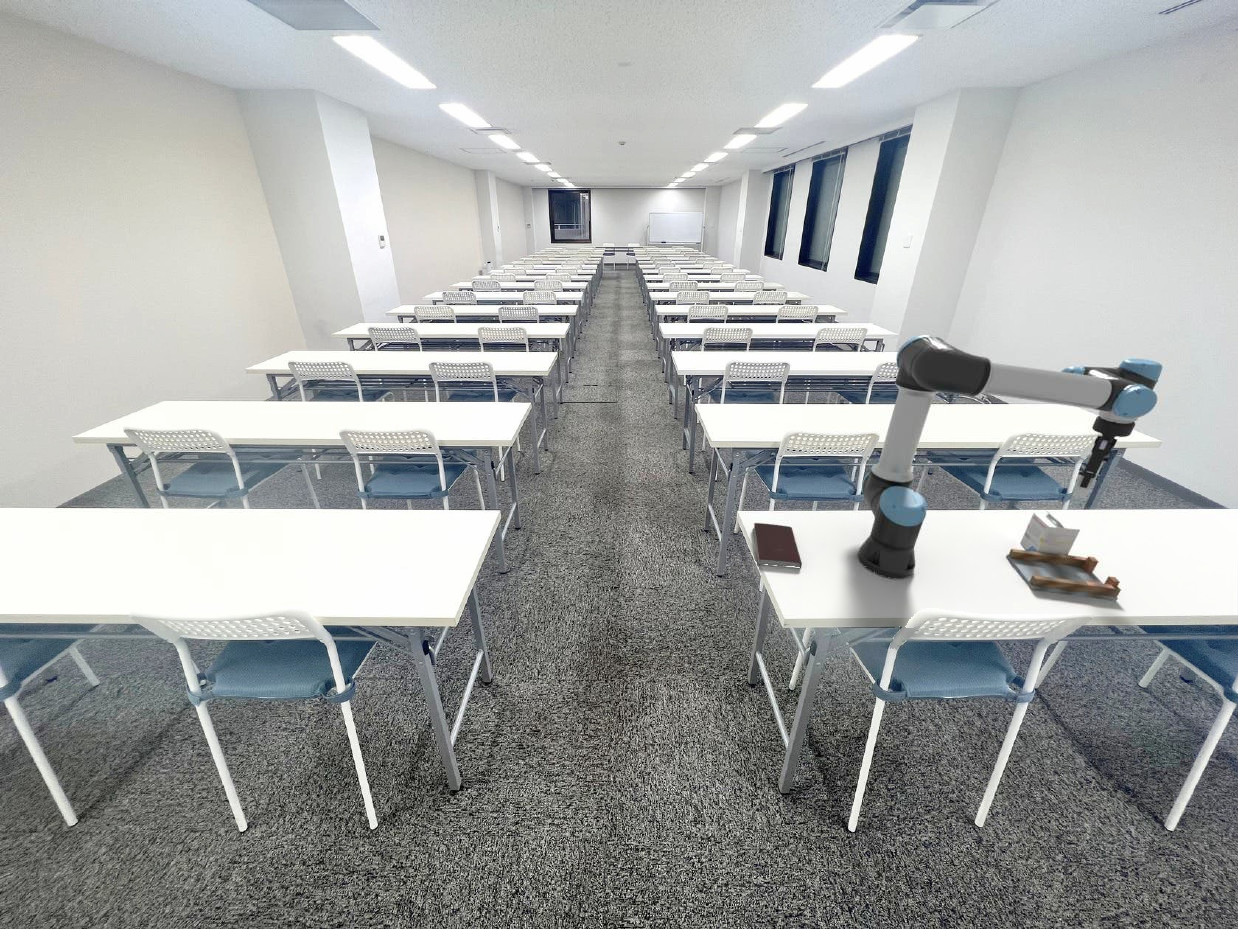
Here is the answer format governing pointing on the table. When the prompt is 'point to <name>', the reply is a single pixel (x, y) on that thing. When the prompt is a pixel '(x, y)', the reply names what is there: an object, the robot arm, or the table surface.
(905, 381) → the robot arm
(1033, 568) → the rail board
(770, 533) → the book
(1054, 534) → the ink box
